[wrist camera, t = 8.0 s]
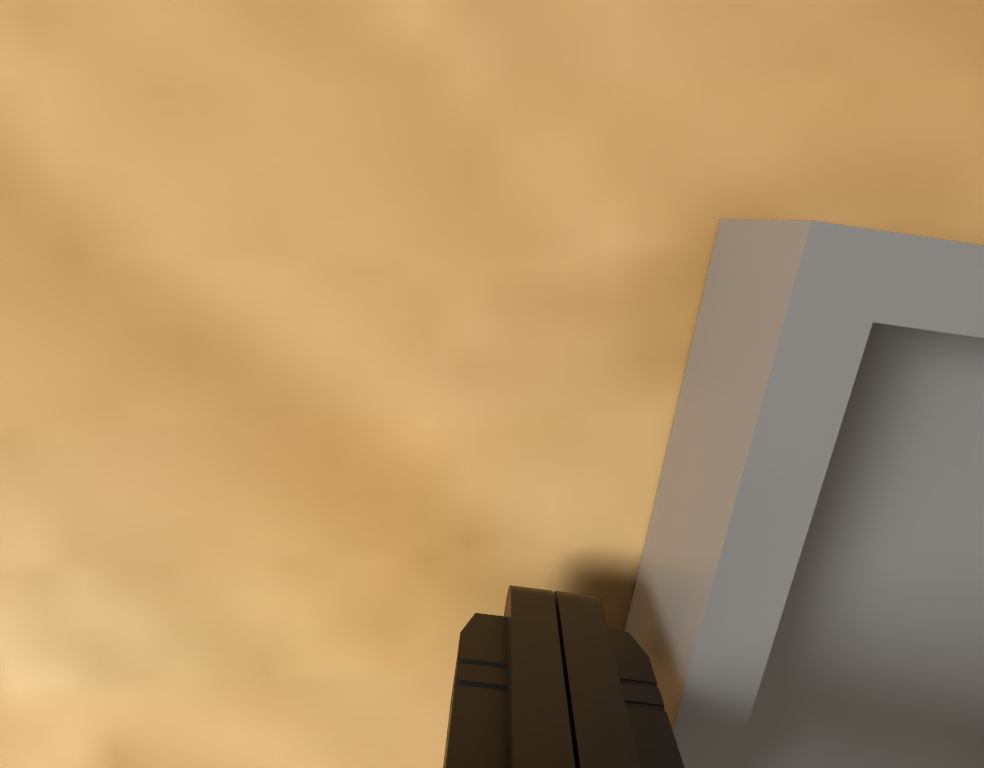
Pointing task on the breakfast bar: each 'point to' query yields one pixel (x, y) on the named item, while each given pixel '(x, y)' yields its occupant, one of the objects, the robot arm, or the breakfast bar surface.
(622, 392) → the breakfast bar surface
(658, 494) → the slate tray
